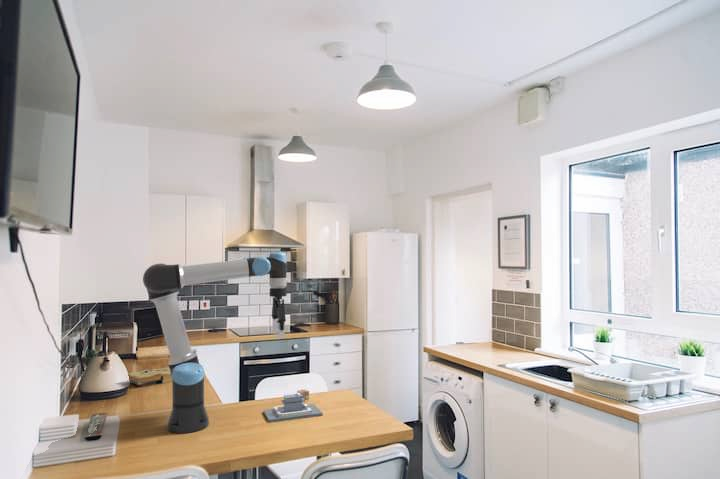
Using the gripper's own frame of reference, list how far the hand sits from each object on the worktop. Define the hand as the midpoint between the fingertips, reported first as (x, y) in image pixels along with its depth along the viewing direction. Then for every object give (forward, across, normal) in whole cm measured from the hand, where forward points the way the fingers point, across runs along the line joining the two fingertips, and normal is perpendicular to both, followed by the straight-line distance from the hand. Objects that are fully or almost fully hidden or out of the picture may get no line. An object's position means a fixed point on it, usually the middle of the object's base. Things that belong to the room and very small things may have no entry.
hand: (278, 335), depth 219 cm
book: (+31, +70, +54) cm, 94 cm away
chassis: (+31, -14, -3) cm, 34 cm away
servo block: (+30, -14, -3) cm, 33 cm away
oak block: (+31, +5, -12) cm, 33 cm away
